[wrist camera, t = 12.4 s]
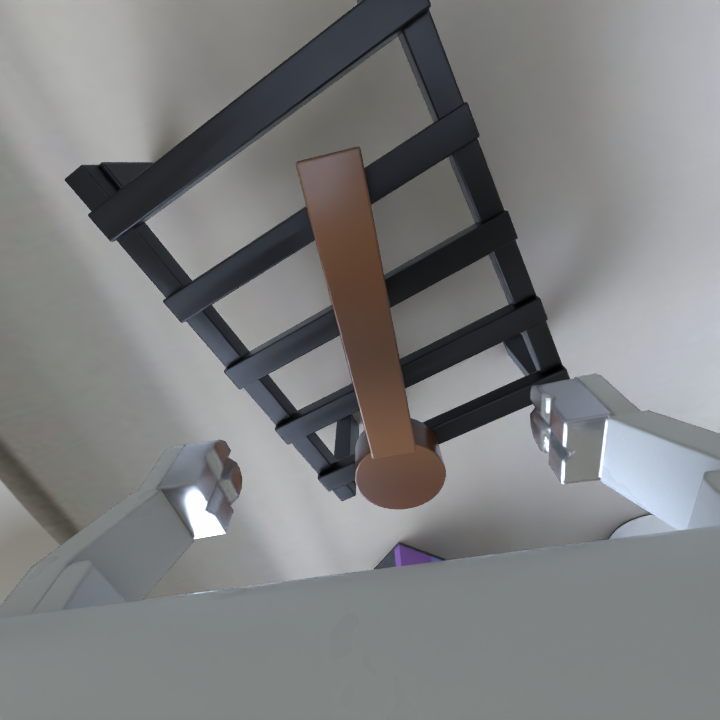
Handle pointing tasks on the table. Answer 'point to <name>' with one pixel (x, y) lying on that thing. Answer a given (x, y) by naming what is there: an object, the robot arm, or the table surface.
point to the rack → (408, 160)
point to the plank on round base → (368, 335)
